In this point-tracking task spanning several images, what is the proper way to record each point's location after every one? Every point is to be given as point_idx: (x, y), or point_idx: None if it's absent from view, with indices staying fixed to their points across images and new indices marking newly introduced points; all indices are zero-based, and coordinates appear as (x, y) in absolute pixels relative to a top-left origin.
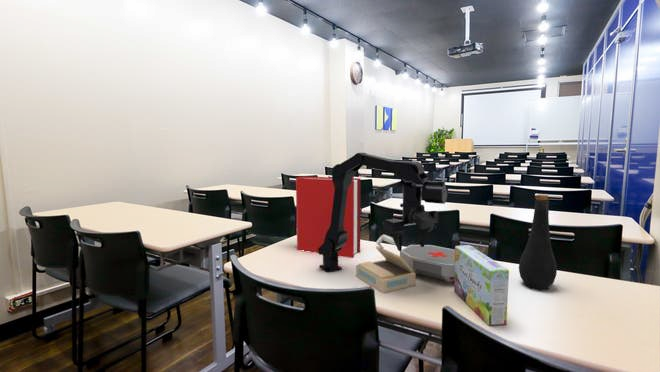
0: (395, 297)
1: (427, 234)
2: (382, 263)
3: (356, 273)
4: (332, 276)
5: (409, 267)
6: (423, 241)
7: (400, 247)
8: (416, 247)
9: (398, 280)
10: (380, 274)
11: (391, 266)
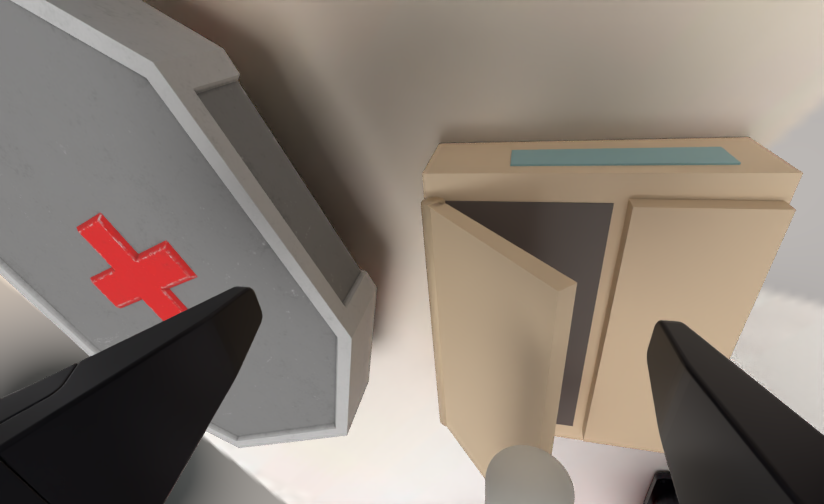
0: (738, 23)
1: (13, 408)
2: None
3: None
4: None
5: (457, 219)
6: (191, 335)
7: (724, 365)
8: (224, 413)
9: (603, 162)
10: (736, 262)
11: None
